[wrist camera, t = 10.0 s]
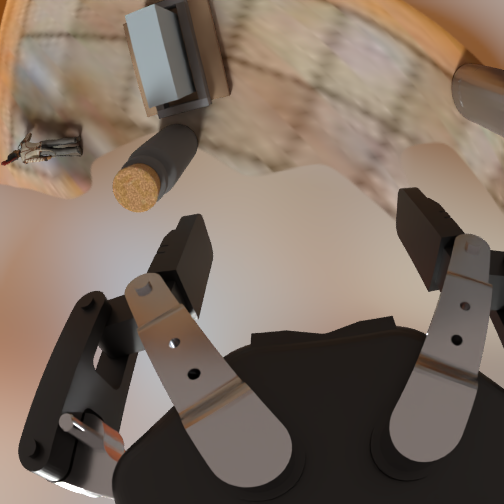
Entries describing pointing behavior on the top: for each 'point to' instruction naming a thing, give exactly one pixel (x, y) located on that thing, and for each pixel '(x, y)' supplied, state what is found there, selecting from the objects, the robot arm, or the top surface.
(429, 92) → the top surface
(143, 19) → the door
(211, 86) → the grey piece
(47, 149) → the figurine
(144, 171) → the bottle
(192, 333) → the robot arm
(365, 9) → the top surface
